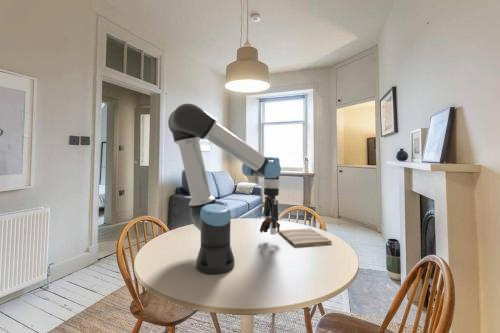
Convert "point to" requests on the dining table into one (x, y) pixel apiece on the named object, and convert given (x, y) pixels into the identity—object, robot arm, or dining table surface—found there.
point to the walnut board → (303, 237)
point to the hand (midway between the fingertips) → (270, 231)
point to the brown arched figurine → (268, 225)
